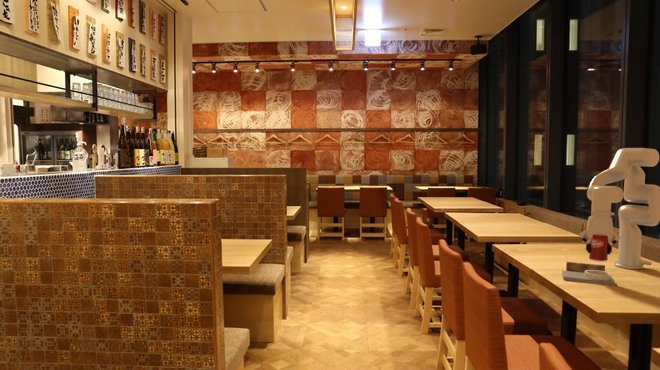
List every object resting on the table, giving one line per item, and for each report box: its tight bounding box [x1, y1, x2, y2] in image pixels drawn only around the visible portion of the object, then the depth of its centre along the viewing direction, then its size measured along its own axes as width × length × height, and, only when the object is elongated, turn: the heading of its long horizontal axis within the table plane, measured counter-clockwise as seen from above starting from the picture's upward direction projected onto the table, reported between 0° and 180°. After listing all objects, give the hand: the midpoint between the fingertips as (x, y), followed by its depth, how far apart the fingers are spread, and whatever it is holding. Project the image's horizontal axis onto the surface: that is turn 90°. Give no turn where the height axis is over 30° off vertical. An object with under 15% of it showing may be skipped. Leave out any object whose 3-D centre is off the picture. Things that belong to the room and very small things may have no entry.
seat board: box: [561, 270, 616, 286], centre depth 209 cm, size 20×12×4 cm, turn 66°
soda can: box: [588, 234, 609, 263], centre depth 206 cm, size 7×7×12 cm
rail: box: [565, 261, 606, 273], centre depth 218 cm, size 16×2×5 cm, turn 66°
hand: (598, 252), depth 206 cm, fingers closed on soda can, 7 cm apart
